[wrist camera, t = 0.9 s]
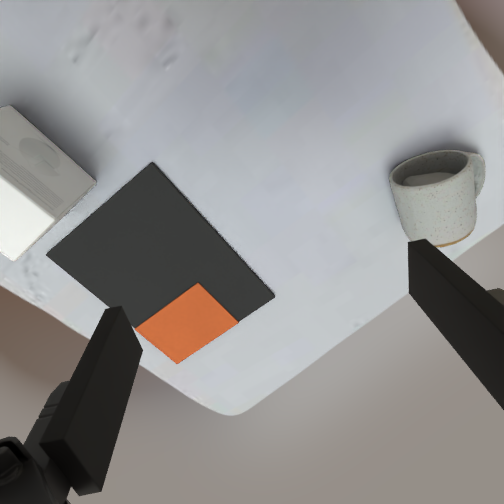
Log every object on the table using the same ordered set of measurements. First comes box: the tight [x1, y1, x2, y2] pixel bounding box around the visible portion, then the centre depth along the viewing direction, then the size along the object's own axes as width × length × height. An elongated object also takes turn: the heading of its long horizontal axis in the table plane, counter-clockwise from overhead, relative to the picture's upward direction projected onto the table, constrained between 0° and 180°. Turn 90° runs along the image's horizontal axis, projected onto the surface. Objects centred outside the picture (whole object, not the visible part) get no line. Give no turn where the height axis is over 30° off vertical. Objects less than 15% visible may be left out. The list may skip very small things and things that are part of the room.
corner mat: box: [46, 162, 275, 364], centre depth 44 cm, size 22×17×1 cm
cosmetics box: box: [0, 105, 96, 261], centre depth 33 cm, size 10×6×10 cm, turn 41°
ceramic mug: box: [389, 150, 485, 247], centre depth 38 cm, size 11×8×8 cm
